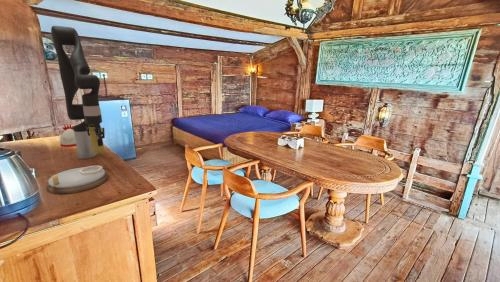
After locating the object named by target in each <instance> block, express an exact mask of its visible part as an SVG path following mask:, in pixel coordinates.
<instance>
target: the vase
mask: <svg viewBox="0 0 500 282" xmlns="http://www.w3.org/2000/svg"><path fill="white" fill-rule="evenodd" d="M93 129H94V130H95V127H90V126H89V132H90V138H91V148H92V153H96V154H100V153H104V152H105V151H106V150H105V145H104V143H103V146H98V141H97V140H98V139H97V137H96V136H95V135H94V131H93ZM97 134H98V133H97ZM98 137H99V135H98ZM103 139H104V138H103ZM103 139H102V141H103V142H104V140H103Z"/></svg>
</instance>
